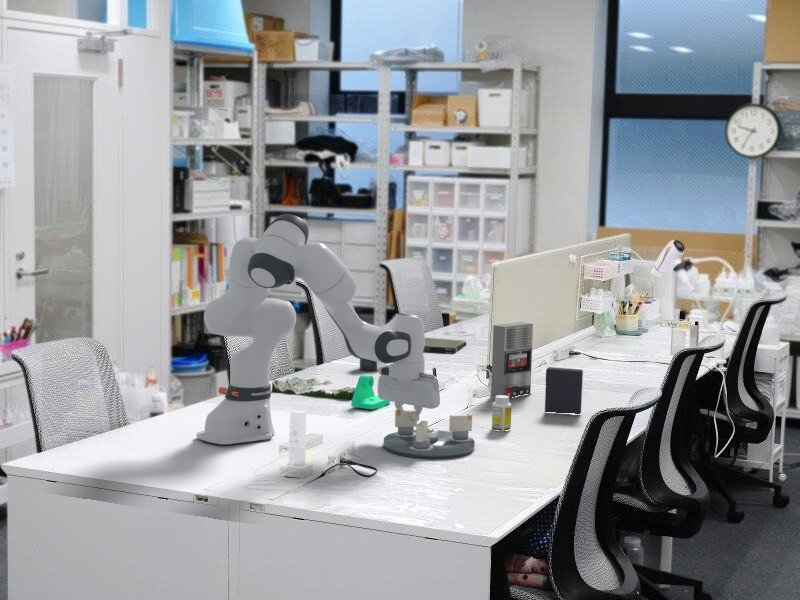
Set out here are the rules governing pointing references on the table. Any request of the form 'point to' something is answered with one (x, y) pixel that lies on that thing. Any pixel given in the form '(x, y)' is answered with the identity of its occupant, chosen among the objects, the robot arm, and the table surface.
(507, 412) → the supplement bottle
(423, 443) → the knob left
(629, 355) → the table surface
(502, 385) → the cassette tape recorder
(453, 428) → the knob right
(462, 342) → the network switch
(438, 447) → the tribrach disc
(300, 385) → the topographic map model
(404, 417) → the cream block orange corner
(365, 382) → the camera mount
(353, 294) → the robot arm
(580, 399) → the calculator
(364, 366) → the supplement bottle
